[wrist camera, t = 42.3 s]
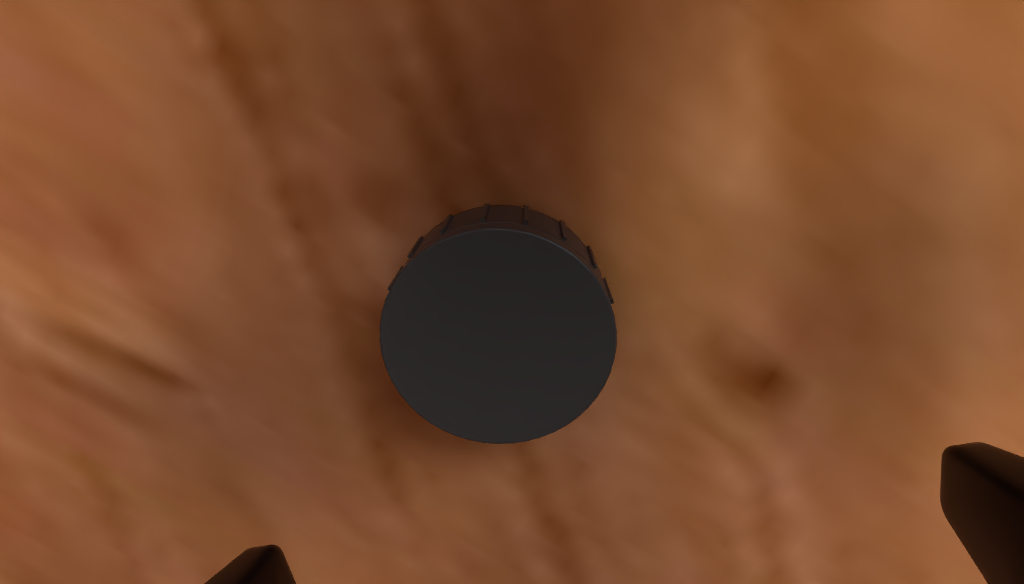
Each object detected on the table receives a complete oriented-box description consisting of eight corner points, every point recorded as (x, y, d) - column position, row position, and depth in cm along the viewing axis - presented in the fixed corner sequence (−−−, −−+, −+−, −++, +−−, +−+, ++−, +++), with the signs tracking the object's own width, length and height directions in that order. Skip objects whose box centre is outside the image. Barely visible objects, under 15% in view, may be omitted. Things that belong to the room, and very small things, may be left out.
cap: (417, 407, 13) (401, 456, 12) (378, 214, 12) (353, 239, 10) (613, 389, 13) (626, 437, 11) (599, 189, 12) (610, 210, 10)
